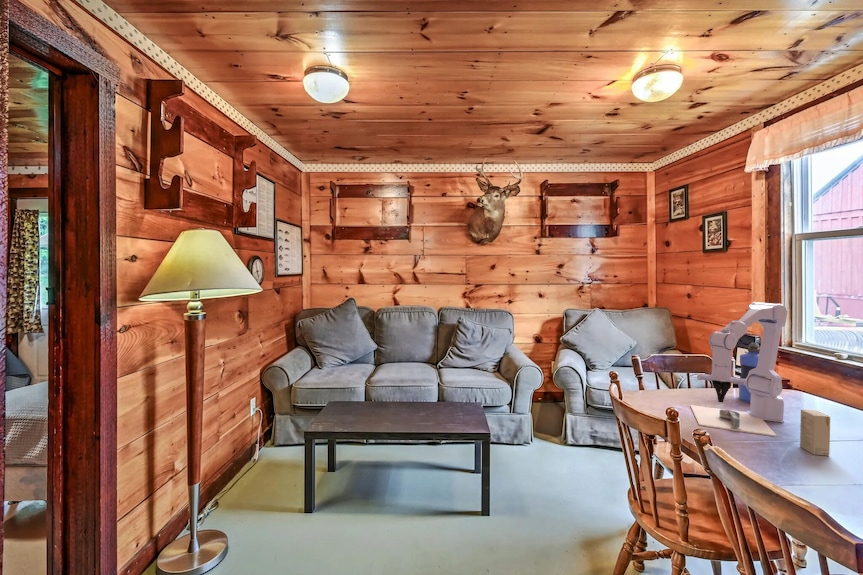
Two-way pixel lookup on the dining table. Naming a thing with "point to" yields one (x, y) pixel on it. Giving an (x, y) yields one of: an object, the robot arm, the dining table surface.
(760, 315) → the robot arm
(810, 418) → the skincare box
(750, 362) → the water bottle
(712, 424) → the base
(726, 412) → the twist lock
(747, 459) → the dining table surface
